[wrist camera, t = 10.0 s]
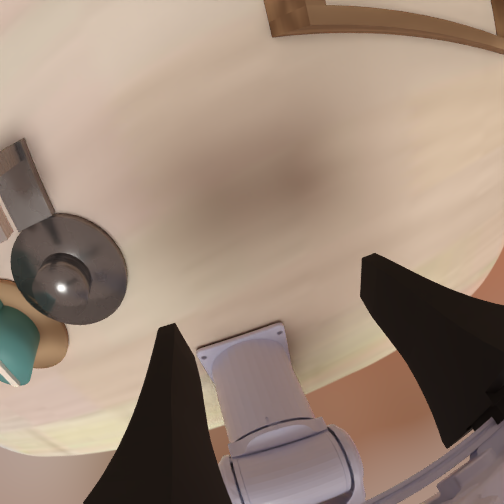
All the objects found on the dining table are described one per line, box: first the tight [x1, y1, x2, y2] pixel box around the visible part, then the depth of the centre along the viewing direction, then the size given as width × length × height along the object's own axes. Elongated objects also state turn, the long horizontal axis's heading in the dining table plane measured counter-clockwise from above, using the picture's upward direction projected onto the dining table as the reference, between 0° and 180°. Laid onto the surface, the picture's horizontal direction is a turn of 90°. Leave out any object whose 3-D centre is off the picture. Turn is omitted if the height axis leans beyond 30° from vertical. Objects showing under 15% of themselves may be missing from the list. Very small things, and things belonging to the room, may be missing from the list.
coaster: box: [0, 279, 68, 368], centre depth 19 cm, size 10×10×1 cm
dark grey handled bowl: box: [0, 138, 127, 325], centre depth 14 cm, size 14×9×6 cm, turn 11°
